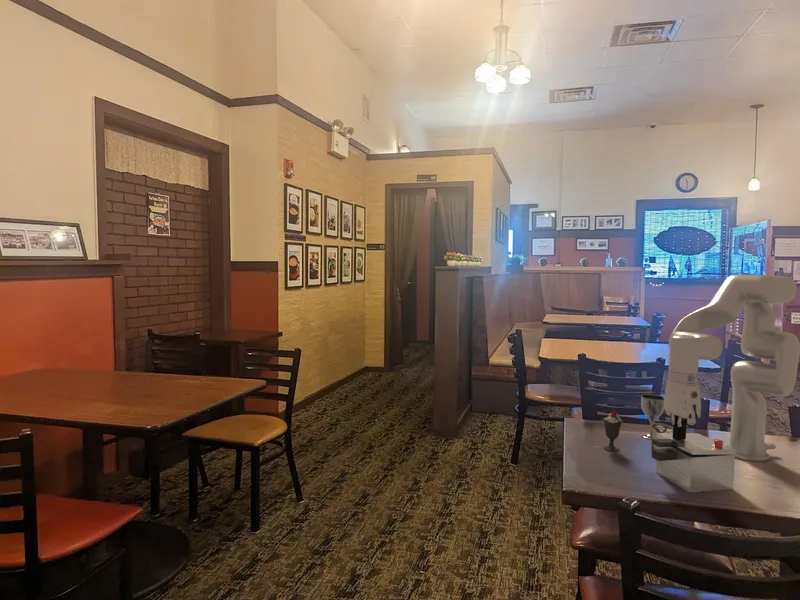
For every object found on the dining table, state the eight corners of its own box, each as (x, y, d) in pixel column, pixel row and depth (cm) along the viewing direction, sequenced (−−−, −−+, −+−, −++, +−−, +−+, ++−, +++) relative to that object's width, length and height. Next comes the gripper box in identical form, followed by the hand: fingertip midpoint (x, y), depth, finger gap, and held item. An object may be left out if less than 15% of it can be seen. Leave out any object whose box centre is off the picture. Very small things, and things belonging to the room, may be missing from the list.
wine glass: (667, 440, 187) (669, 399, 185) (645, 440, 187) (647, 399, 185) (656, 433, 194) (658, 394, 193) (635, 433, 195) (637, 393, 193)
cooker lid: (697, 437, 160) (698, 427, 160) (735, 454, 146) (736, 444, 146) (639, 436, 156) (640, 427, 156) (672, 454, 142) (674, 443, 142)
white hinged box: (696, 469, 161) (697, 437, 160) (732, 489, 147) (735, 454, 147) (638, 473, 157) (639, 441, 156) (670, 494, 144) (672, 459, 143)
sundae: (611, 454, 173) (613, 409, 172) (596, 447, 179) (598, 404, 178) (626, 451, 176) (628, 407, 175) (611, 444, 182) (613, 402, 181)
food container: (681, 466, 164) (683, 435, 163) (660, 464, 165) (662, 433, 164) (669, 452, 176) (671, 423, 175) (650, 450, 177) (651, 421, 176)
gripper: (713, 383, 145) (709, 447, 146) (675, 371, 160) (672, 430, 161) (690, 384, 144) (686, 448, 145) (654, 372, 158) (650, 431, 160)
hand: (679, 438), depth 153 cm, fingers closed
